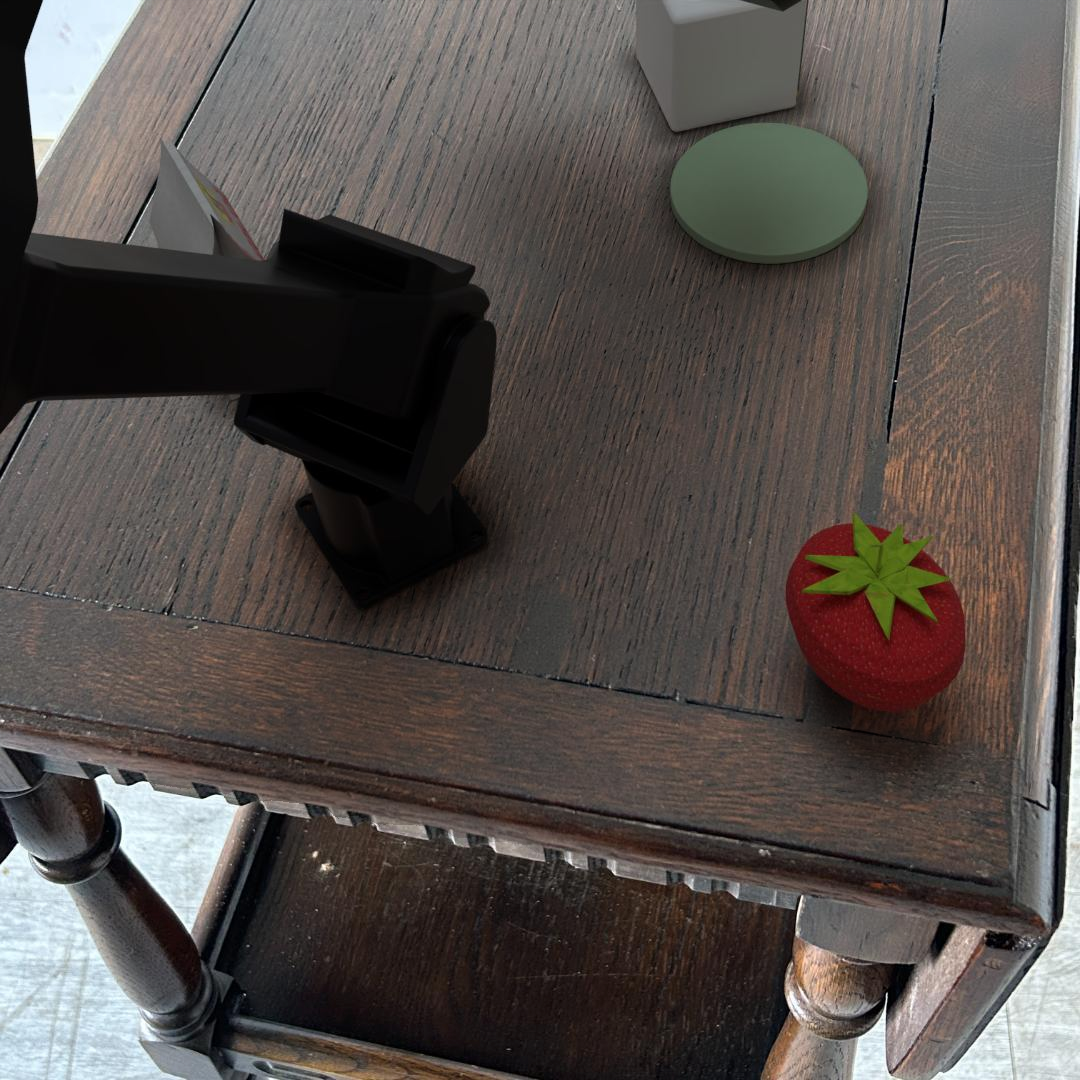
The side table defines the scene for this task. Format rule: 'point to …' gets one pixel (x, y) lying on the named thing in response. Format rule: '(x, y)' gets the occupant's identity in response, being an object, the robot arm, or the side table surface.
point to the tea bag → (195, 213)
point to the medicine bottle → (719, 58)
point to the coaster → (768, 193)
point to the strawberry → (875, 616)
